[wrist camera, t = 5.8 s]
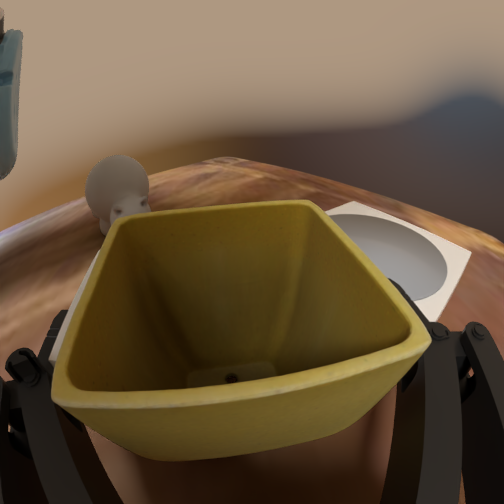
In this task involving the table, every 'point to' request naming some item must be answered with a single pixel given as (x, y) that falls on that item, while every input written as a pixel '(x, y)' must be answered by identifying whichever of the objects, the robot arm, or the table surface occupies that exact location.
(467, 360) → the robot arm
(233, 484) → the table surface
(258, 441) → the flower pot
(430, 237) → the tile stand
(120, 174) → the hippopotamus figurine
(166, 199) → the table surface
